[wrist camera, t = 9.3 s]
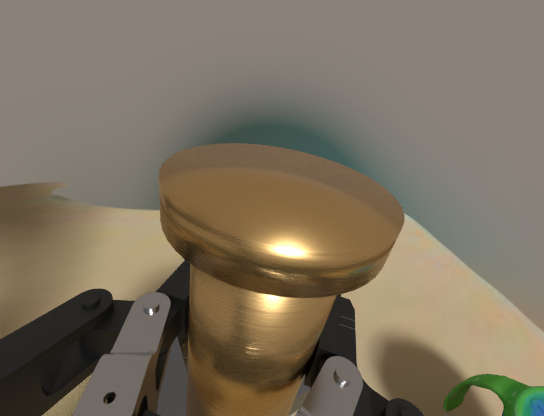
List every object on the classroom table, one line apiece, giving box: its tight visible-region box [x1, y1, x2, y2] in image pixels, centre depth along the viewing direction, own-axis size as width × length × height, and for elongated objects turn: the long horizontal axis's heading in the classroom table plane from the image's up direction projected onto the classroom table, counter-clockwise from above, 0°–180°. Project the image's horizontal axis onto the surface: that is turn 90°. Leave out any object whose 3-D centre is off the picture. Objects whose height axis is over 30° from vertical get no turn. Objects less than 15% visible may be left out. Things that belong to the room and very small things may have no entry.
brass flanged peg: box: [159, 143, 404, 416], centre depth 11 cm, size 7×7×14 cm
